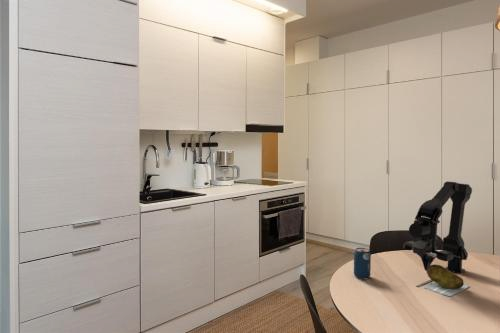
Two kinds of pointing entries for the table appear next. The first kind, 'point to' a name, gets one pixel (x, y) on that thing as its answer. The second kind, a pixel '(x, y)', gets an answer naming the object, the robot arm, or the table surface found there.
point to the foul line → (423, 283)
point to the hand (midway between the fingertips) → (426, 270)
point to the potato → (444, 277)
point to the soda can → (362, 263)
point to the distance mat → (445, 289)
